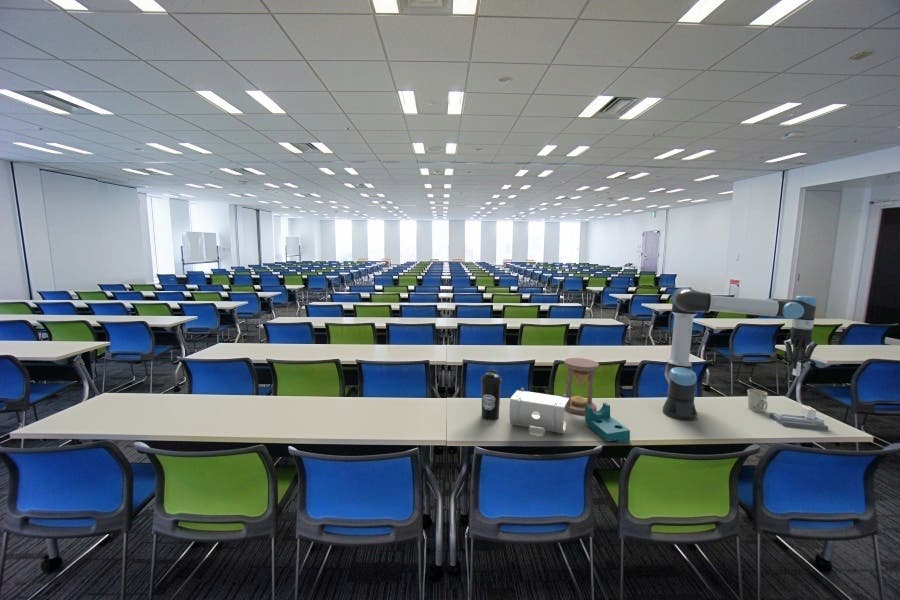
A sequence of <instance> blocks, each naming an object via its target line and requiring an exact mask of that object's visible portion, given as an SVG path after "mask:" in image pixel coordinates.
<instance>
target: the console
mask: <svg viewBox="0 0 900 600" xmlns="http://www.w3.org/2000/svg"><path fill="white" fill-rule="evenodd" d="M769 417H770V418H771V419H773V420H774V421H775V422H776V423H778V424H780V425H781V426H783V427H791V428H800V429H801V428H802V429H811V430H818V431H819V430H820V431H828V430H829V425H826V424H825V419H823V418H822V417H820V416H818V415H816V416H815V419H805V418H803V415H801V414H800V415H799V414H792V413H783V412H782V413H781V412H778V411H773V412H770V413H769Z"/></svg>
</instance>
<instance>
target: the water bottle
mask: <svg viewBox="0 0 900 600" xmlns="http://www.w3.org/2000/svg"><path fill="white" fill-rule="evenodd" d="M502 380H503V379H502V377H501V376H500V375H499V374H498V371H497V370H493V369H492V370H491V369H489V371H488V372H486V373H484V374H483V375H482V376H481V378H480V383H481V418H482V419H483V420H485V421H492V420H493V421H497V420H499V417H500V416H499V415H500V404H501V403H500V400H501V388H502V387H501V386H502Z"/></svg>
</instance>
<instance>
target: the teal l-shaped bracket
mask: <svg viewBox="0 0 900 600" xmlns="http://www.w3.org/2000/svg"><path fill="white" fill-rule="evenodd" d="M584 415H585V416H584V417H585V418H584V420H585V422H584V423H585V425H587V426H588V427H589V428H590V429H591V430H593V431H594V432H595V433H596V434H598V435H599V436H600V437H601V438H603V440H605V441H606V442H612V441H613V442H614V441H616V442H617V443H620V444H621V443H627V442H630V441H631V430H630V429H629V428H627V427H626V425H624V424H622V423H621V422H620V421H618V420H617V419H615V418H614V417H612V416H611V405H610V404H609V403H608V402H607V401H606V402H602V406H601V408H600V409H599V410H596V412H593V411H592V408H591V407H590V406H588V405H585V414H584Z"/></svg>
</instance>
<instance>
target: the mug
mask: <svg viewBox="0 0 900 600" xmlns="http://www.w3.org/2000/svg"><path fill="white" fill-rule="evenodd" d="M746 392H747V407H748V410H751V411H752V412H759V413H761V412H764V411H767V410H768V407H769V406H768V401H767V398H768V392H767V391H764V390H761V389H756V388H749V389H747V391H746Z"/></svg>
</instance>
